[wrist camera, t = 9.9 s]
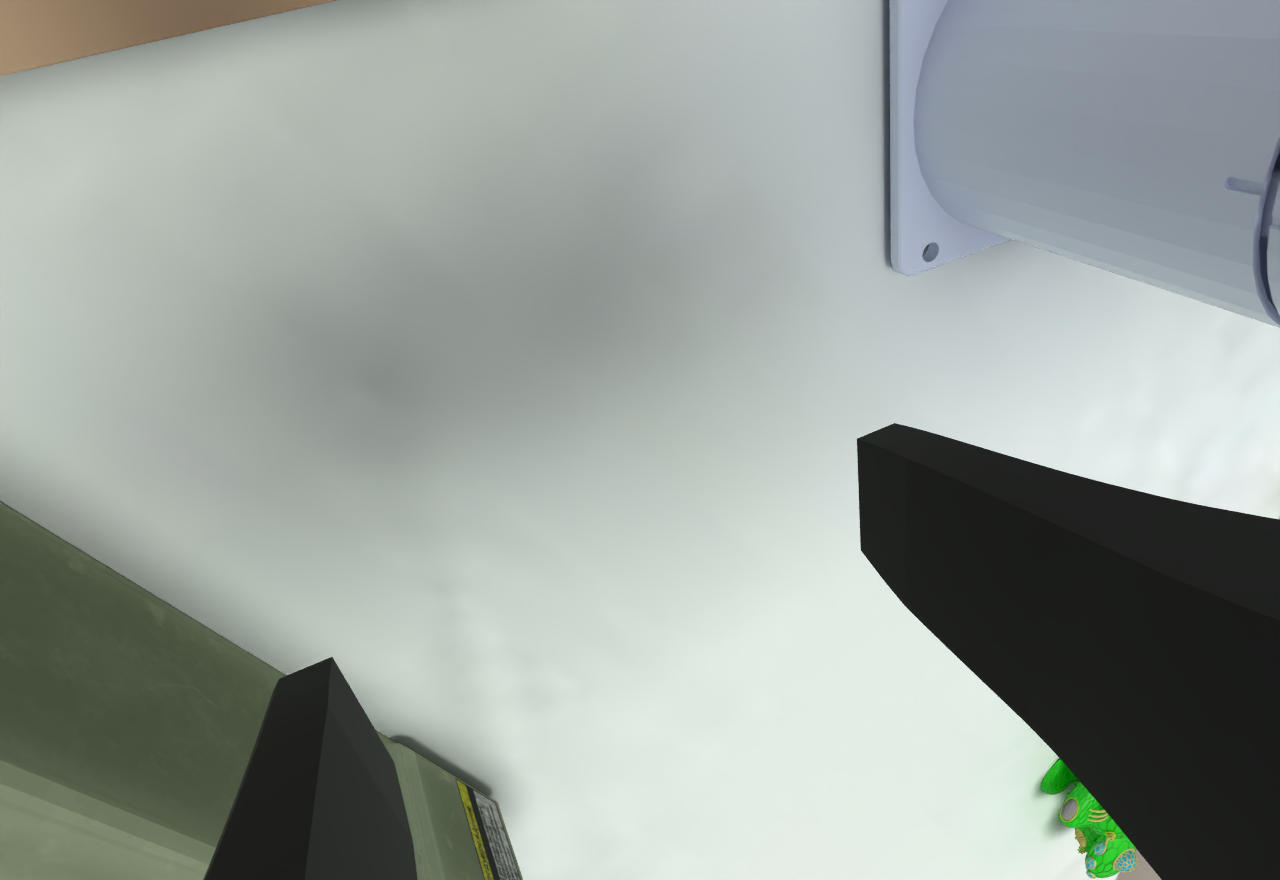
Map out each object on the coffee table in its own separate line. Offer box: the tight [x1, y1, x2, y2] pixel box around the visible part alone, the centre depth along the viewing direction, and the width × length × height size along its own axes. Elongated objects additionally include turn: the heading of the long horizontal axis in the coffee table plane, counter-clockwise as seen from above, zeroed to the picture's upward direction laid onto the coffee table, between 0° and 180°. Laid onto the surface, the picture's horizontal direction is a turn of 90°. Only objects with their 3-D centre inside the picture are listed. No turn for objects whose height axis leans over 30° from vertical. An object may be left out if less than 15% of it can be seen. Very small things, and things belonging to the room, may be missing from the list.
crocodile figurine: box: [1041, 759, 1137, 879], centre depth 38 cm, size 7×18×4 cm, turn 7°
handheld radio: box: [0, 502, 523, 880], centre depth 16 cm, size 7×3×25 cm
